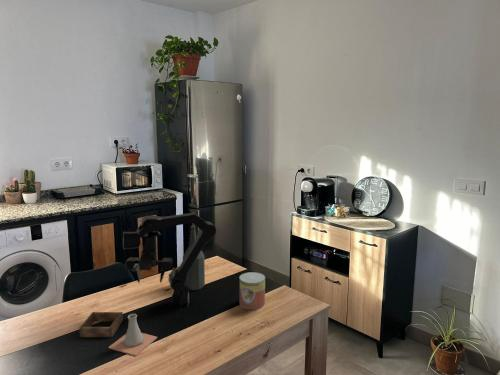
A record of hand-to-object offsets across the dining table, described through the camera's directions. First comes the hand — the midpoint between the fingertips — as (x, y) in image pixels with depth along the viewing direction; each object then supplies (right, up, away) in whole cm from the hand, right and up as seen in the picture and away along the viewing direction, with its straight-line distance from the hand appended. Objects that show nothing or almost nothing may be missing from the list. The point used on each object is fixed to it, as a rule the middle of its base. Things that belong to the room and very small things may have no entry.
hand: (149, 282), depth 159 cm
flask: (0, -16, -23) cm, 28 cm away
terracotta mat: (0, -16, -23) cm, 28 cm away
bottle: (+15, -8, +24) cm, 30 cm away
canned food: (+43, -11, +8) cm, 45 cm away
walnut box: (-15, -14, -13) cm, 25 cm away
